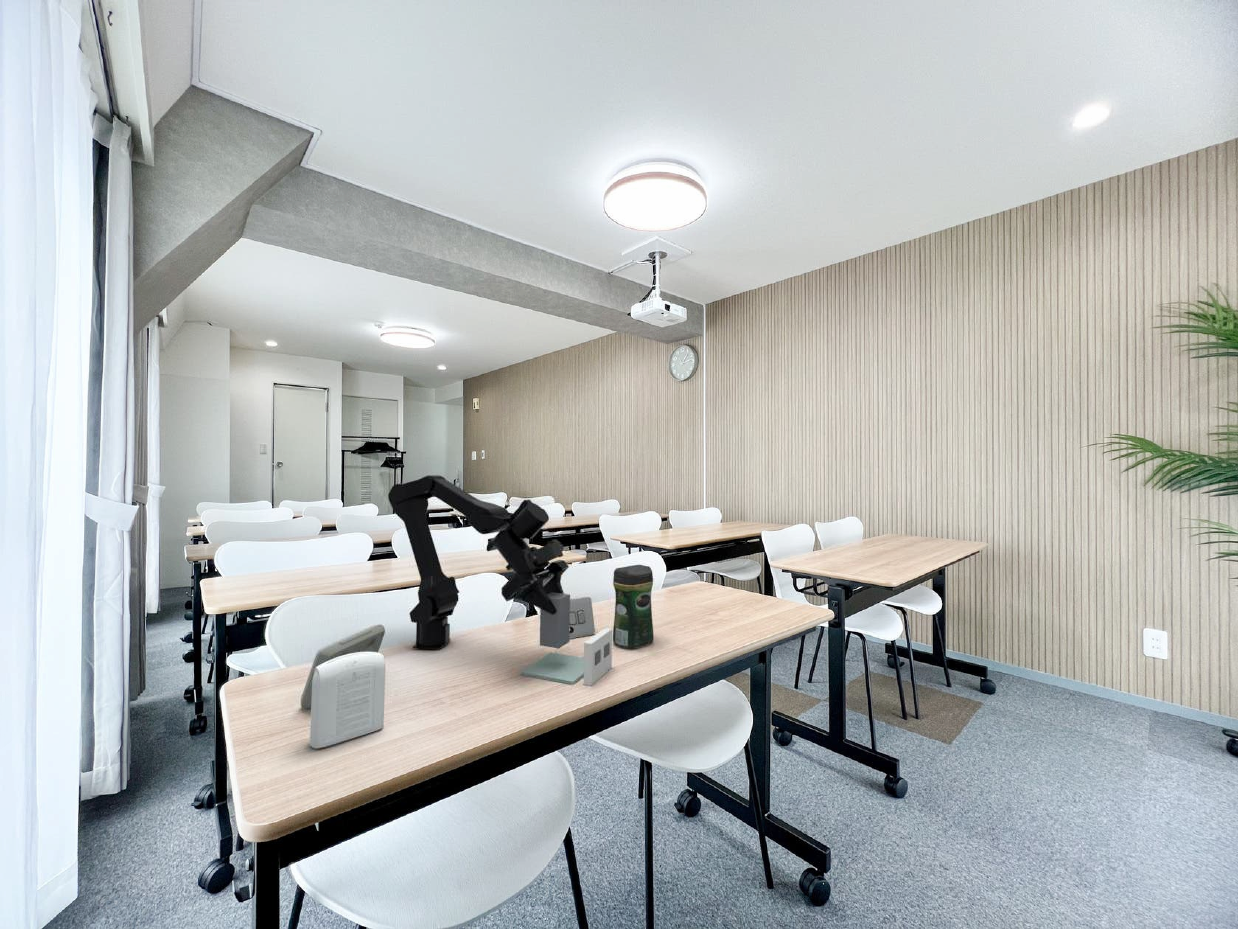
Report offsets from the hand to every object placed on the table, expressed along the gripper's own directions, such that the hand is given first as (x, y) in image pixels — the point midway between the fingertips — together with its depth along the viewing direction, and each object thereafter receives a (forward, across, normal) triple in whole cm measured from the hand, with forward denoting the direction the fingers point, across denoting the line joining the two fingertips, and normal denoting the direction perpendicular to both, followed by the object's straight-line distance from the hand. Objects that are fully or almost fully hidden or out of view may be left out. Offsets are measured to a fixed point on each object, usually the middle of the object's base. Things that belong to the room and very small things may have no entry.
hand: (560, 610), depth 104 cm
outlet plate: (+15, 0, +2) cm, 15 cm away
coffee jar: (+14, +21, +3) cm, 26 cm away
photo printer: (-3, -36, +21) cm, 42 cm away
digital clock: (-13, -26, +30) cm, 42 cm away
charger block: (+4, 0, +6) cm, 7 cm away
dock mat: (+9, 0, +8) cm, 12 cm away
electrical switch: (+3, +20, +14) cm, 25 cm away
